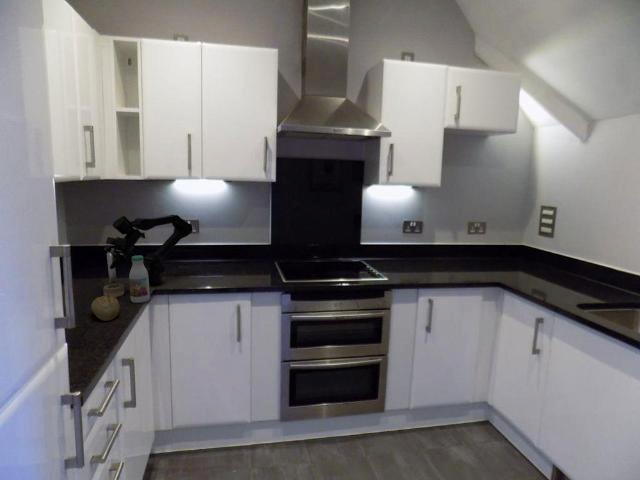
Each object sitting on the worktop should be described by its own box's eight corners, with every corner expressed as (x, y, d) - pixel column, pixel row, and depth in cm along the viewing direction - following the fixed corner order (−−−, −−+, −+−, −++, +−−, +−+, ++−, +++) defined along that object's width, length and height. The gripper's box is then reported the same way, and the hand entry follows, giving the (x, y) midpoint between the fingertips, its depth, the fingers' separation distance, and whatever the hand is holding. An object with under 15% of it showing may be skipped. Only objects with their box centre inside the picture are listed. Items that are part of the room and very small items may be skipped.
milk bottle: (134, 297, 182) (131, 254, 178) (152, 297, 183) (149, 254, 179) (128, 303, 174) (124, 258, 171) (146, 303, 175) (143, 258, 171)
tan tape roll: (115, 291, 191) (114, 282, 190) (127, 293, 188) (127, 285, 187) (100, 296, 183) (99, 287, 183) (113, 298, 180) (112, 289, 180)
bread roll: (113, 308, 169) (112, 289, 168) (125, 318, 158) (123, 298, 157) (87, 313, 163) (86, 294, 161) (97, 324, 152) (96, 304, 150)
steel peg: (113, 281, 186) (110, 251, 184) (117, 282, 185) (115, 252, 182) (108, 283, 184) (105, 253, 181) (112, 283, 183) (109, 253, 180)
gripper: (106, 227, 188) (83, 255, 182) (128, 232, 178) (105, 261, 171) (123, 241, 196) (103, 268, 189) (146, 246, 186) (125, 275, 179)
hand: (108, 268), depth 182 cm, fingers closed on steel peg, 3 cm apart
